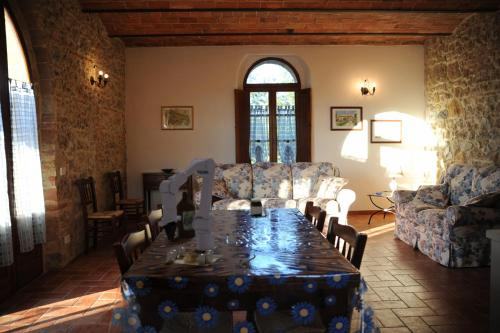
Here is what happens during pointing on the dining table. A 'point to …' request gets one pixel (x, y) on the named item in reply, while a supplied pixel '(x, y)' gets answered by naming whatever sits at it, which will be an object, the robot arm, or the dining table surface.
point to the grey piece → (172, 256)
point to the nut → (191, 257)
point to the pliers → (246, 262)
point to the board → (183, 261)
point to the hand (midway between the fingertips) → (170, 239)
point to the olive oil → (185, 216)
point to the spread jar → (257, 207)
